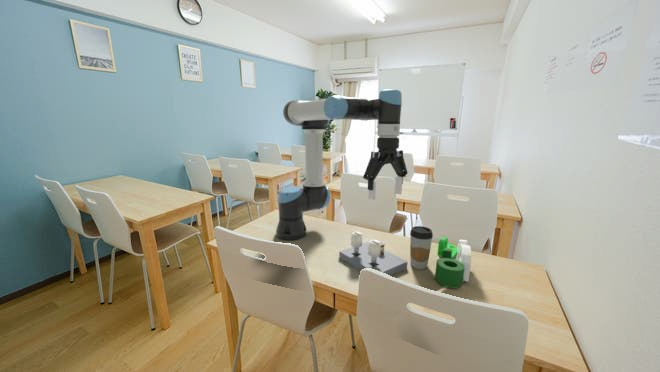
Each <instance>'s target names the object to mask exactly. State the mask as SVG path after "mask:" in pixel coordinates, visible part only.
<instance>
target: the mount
mask: <svg viewBox="0 0 660 372" xmlns="http://www.w3.org/2000/svg"><path fill="white" fill-rule="evenodd" d="M368 249H369V241H367V242H364V243H363V242H362V246H361V247H359V252H358V253H355V252H354V247H353V246H350V247H349V248H345V249H343V250H339V253H338V254H339V256H338V257H339V259H340V260H341V261H344V262H345V263H347V264H349V265H350V266H351V267H353V268H355V269H356V270H358V271H359V272H361V270H362V269H364V268H372V269H375V270H378V271H380V272H383V273H386V274H388V275H391V276H390V277H392V276H394V275H396V274H398V273H401V272H403V271H405V270H407V269H408V261H407V260H405V259H403V258H401V257H400V256H399V257H398V256H396V255H395V254H393V253H391V252H390V251H387V250H385V249H384V254H380V256H379V257H377V262H376V263H373V262H371V256H369V255H368Z"/></svg>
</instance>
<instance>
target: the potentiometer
mask: <svg viewBox="0 0 660 372" xmlns="http://www.w3.org/2000/svg"><path fill="white" fill-rule="evenodd" d="M385 246H386V245H385V244H384V243H382V242H381V250H380V254H384V250H385Z"/></svg>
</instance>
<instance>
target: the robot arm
mask: <svg viewBox="0 0 660 372" xmlns="http://www.w3.org/2000/svg"><path fill="white" fill-rule="evenodd" d="M402 98H403V97H402V91H400V90H398V89H383V90H380V91H379V95H378V97H375V98H366V97H365V98H364V97H363V98H362V97H351V96H342V95H329V96H328V97H327V98H322V99H315V100H300V99H296V100H295V99H293V100H290V101H288V102H287V103H286V104H285V105H284V107H283V110H282V113H283V118H284V119H285V122H287V123H289V125H291V126H292V125H293V126H296V127H297V126H298V127H301V131H302V132H303V133H304V135H305V136H304V137H305V139H304V141H305V149H304V150H305V181H304V183H302V187H301V186H298V185H294V186H287V187H284V188H282V189H281V190H280V191H279V192H278V199H277V202H278V218H279V220H278V222H277V226H276V230H275V233H276V234H275V235H277V236H276V237H277V238H278V239H282V240H298V239H303V238H304V237H305V236H306V235H307V226H306V224H305V220H304V212H310V211H315V210H321V209H324V208H326V207H327V206H328V205H329V203H330V201H331V192H330V189H329V187H328V186H327V185H326V183H325V182H324V180H323V178H324V177H323V173H324V172H323V171H324V170H323V168H324V164H323V161H324V160H323V159H324V158H323V155H324V154H323V151H324V150H323V145H324V143H323V139H324V136H323V135H324V133H325V132H326V129H327V128H326V127H327V126H328V125H329V124H330V122H331V120H334V121H335V120H353V121H354V120H355V121H357V120H358V121H376V120H377V134H376V135H377V136H378V138H377V140H376V147H377V149H378V151H373V150H372V151H371V153H370V158H369V161H368V164H367V166H366V169H365V172H364V174H363V177H362V178H363V179H364V180H367V190H368V199H370V200H372V201H373V200H376V194H377V193H376V191H377V181H376V178H377V176H379V173H380V171H381V170H382V168H383V167H384V166H385V165H388V164H390V165H391V167H392V168H393V170H394V172H395V173H396V176H395V180H394V194H398V195H402V191H403V190H402V189H403V184H404V183H403V182H404V178H405V177H407V175H408V169H407V166H406V162H405V159H404V151H403V150H401V149H400V138H399V137H400V133H401V132H400V131H401V130H400V129H401V128H400V127H401V117H402V116H401V114H402V105H403V103H402V102H403V101H402Z"/></svg>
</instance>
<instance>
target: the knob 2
mask: <svg viewBox="0 0 660 372" xmlns="http://www.w3.org/2000/svg"><path fill="white" fill-rule="evenodd" d="M368 242H369V249H368V255H369V256H371V262H373V263H376V262H377V257H379V256H380V250H381V243H382V242H381V241H380V240H376V239H371V240H368Z"/></svg>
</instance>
